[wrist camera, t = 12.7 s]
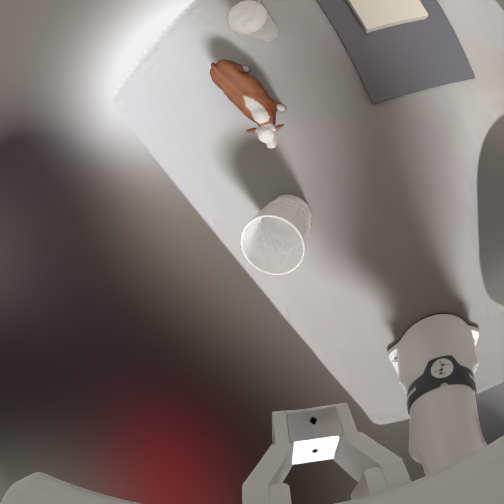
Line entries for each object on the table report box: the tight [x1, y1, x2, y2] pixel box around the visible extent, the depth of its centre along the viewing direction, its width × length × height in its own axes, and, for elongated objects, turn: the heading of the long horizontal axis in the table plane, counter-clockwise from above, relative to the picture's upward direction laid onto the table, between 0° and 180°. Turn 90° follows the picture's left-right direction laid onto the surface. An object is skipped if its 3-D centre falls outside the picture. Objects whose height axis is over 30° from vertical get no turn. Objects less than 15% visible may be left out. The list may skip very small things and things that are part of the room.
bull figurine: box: [210, 60, 286, 148], centre depth 32 cm, size 4×13×8 cm, turn 37°
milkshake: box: [227, 0, 279, 42], centre depth 26 cm, size 4×5×10 cm
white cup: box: [240, 194, 312, 275], centre depth 38 cm, size 8×8×10 cm
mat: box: [317, 0, 475, 104], centre depth 23 cm, size 22×16×1 cm
